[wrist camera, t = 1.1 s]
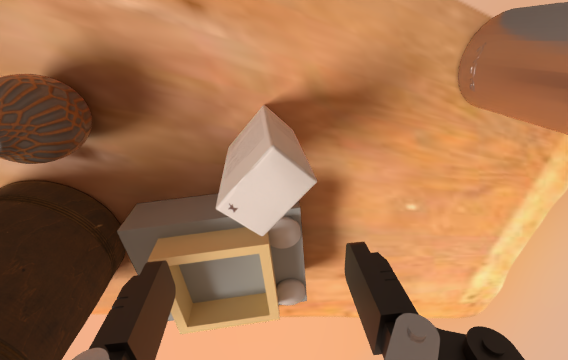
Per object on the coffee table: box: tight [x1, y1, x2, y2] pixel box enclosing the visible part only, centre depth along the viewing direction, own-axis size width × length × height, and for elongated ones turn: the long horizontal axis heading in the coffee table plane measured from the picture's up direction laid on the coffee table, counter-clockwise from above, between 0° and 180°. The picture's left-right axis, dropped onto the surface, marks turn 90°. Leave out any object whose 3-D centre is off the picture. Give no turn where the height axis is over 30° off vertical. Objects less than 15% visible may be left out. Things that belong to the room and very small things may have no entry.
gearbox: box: [117, 193, 307, 334], centre depth 31 cm, size 18×14×8 cm
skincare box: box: [216, 105, 317, 236], centre depth 23 cm, size 6×4×12 cm
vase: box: [0, 74, 92, 164], centre depth 21 cm, size 7×7×9 cm
